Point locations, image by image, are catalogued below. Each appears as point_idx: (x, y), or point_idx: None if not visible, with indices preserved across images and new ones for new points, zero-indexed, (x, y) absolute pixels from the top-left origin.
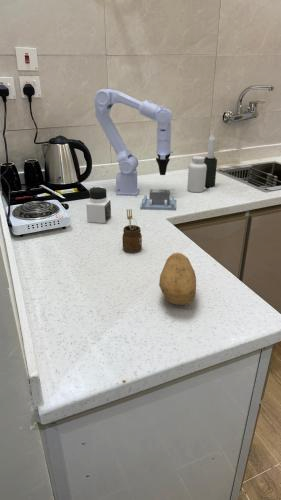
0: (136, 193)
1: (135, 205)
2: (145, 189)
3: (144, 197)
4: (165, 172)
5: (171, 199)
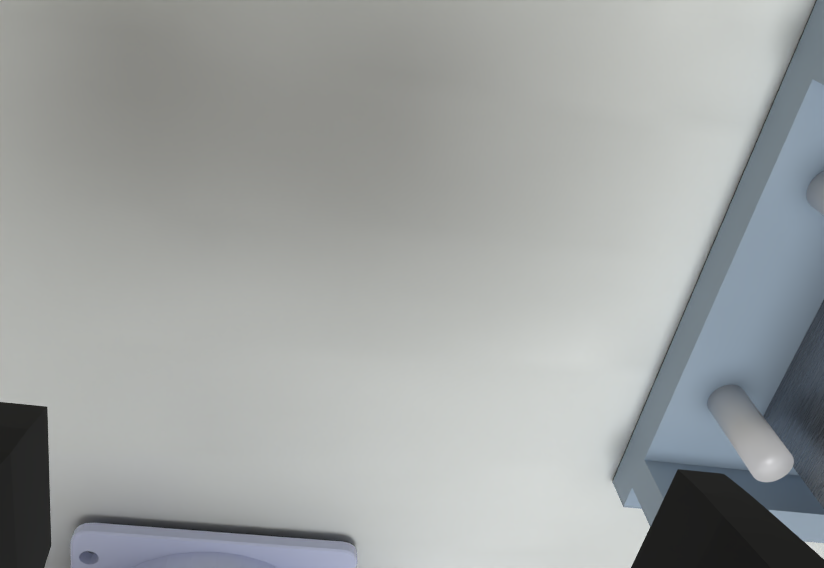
0: (323, 561)
1: None
2: None
3: None
4: (801, 543)
5: (809, 84)
